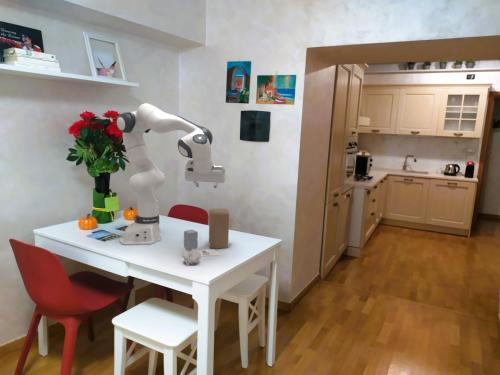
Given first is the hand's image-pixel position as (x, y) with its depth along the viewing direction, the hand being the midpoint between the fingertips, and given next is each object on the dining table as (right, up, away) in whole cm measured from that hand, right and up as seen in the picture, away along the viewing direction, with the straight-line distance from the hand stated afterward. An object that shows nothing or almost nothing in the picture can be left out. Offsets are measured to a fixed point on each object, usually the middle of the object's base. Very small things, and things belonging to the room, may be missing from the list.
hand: (206, 186), depth 188 cm
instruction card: (-1, -34, +2) cm, 34 cm away
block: (+5, -33, +15) cm, 36 cm away
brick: (-6, -29, -13) cm, 32 cm away
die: (-6, -37, -12) cm, 39 cm away
